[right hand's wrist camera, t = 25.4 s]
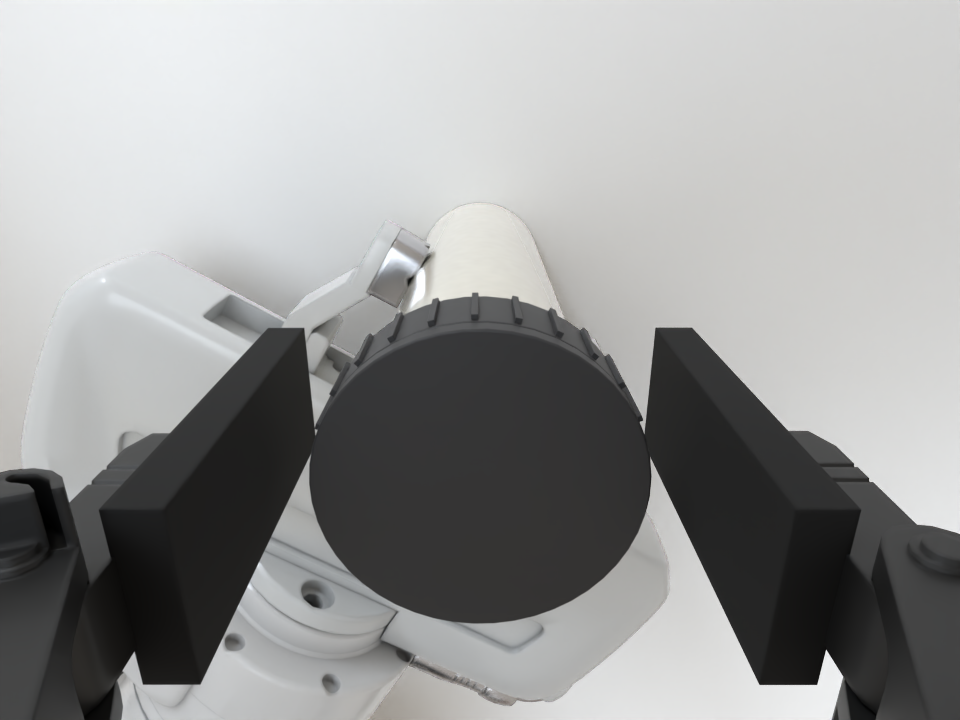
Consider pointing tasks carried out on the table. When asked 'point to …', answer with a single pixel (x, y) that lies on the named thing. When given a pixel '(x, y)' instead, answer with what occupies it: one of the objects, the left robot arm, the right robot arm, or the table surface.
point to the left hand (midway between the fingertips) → (494, 284)
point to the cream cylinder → (481, 260)
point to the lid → (480, 462)
